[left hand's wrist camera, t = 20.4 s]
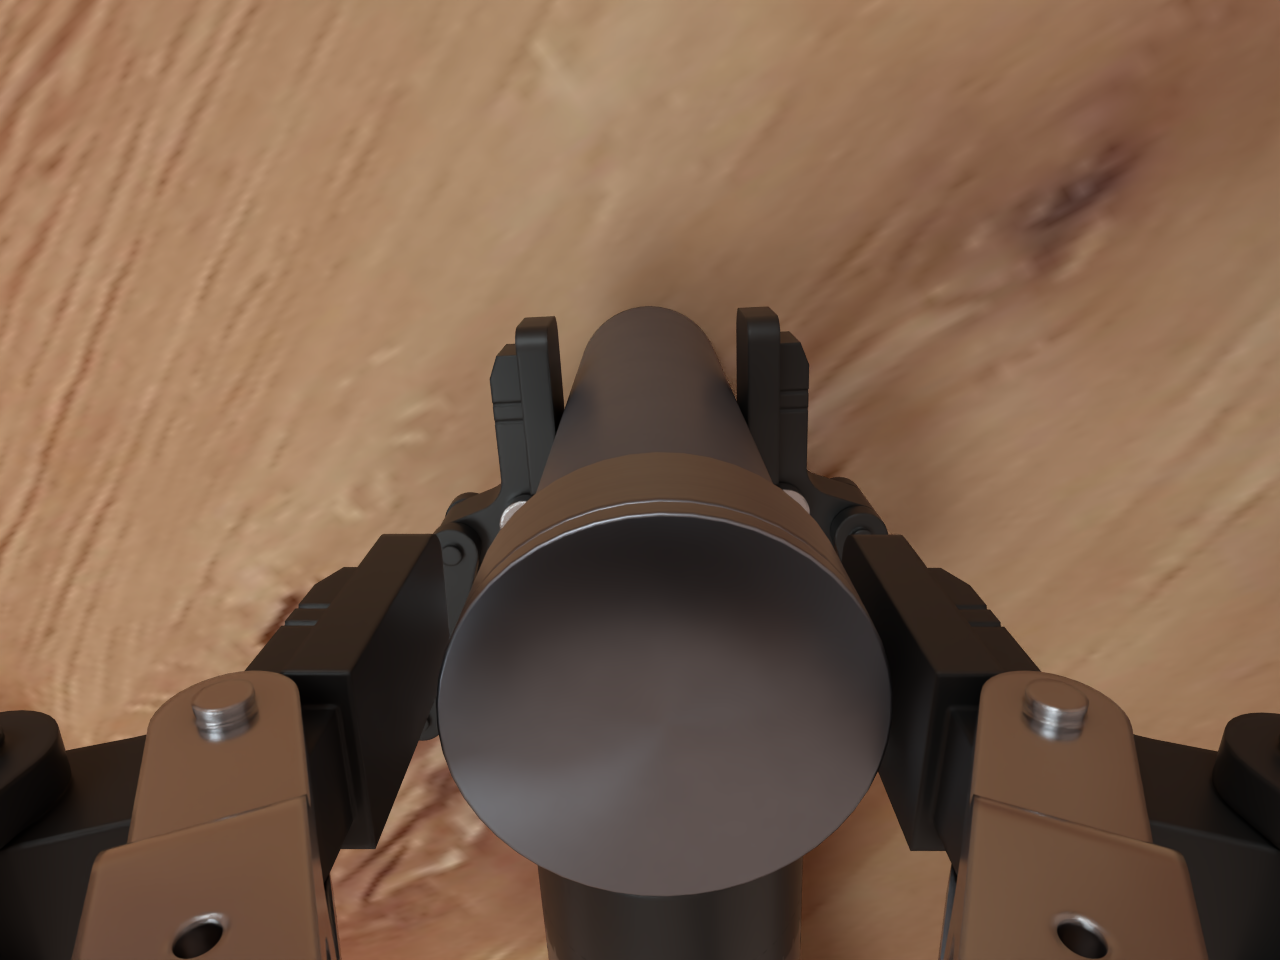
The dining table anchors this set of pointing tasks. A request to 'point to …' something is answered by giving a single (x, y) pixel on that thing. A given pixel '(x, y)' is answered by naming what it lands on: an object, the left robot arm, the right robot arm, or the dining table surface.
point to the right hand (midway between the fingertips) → (645, 320)
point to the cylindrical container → (650, 398)
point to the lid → (663, 680)
